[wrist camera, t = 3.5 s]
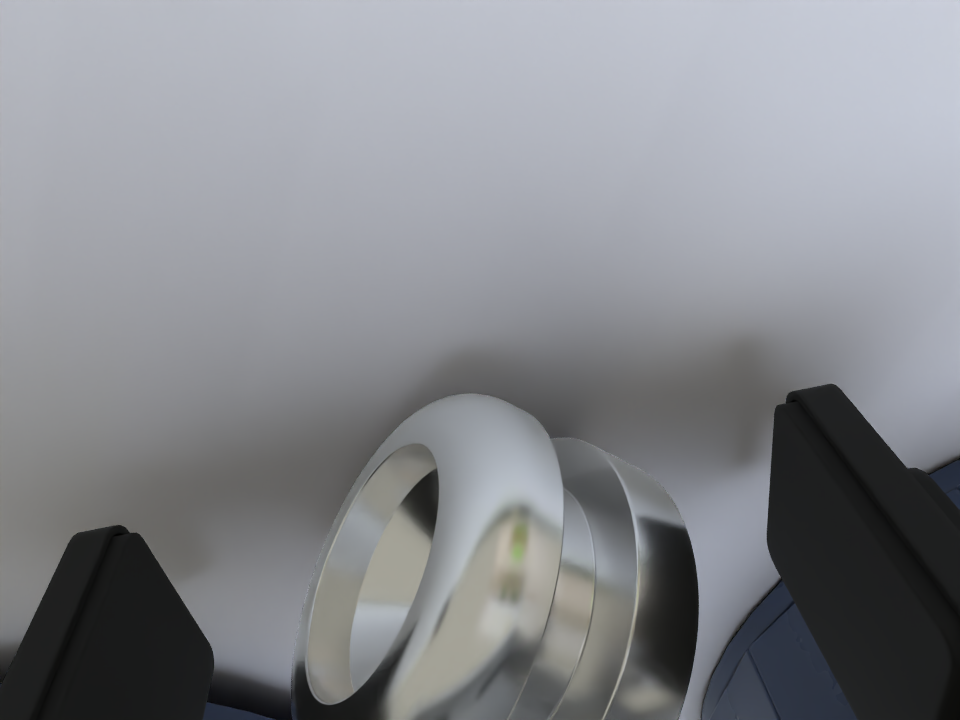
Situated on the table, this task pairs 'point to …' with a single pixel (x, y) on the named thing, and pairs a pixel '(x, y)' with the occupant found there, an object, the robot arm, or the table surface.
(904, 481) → the robot arm
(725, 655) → the tin
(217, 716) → the tin lid
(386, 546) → the grooved metal pulley
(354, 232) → the table surface
